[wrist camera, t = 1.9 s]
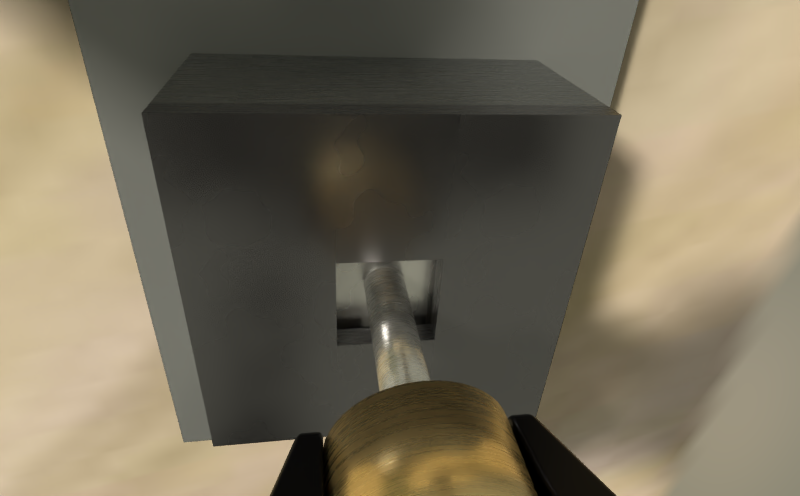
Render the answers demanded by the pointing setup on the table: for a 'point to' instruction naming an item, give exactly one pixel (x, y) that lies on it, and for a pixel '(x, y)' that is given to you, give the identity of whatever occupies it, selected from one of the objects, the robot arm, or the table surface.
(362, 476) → the golden knob
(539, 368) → the grey knob block
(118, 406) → the table surface
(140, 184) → the slate board
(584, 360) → the table surface
